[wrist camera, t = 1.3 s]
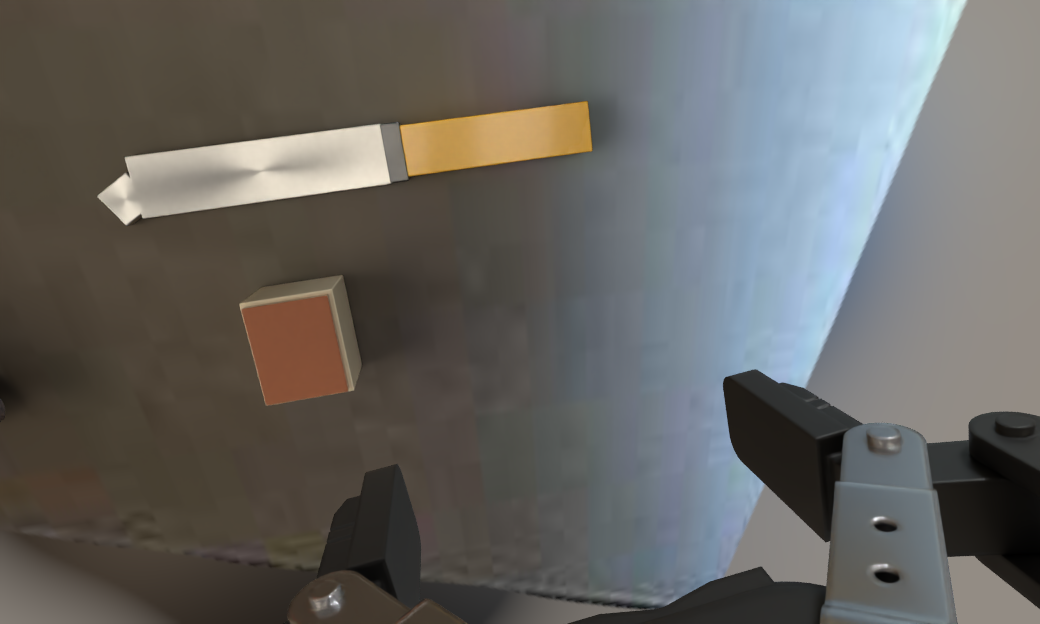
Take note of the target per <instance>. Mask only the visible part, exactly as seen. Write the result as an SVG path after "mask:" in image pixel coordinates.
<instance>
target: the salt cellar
mask: <svg viewBox="0 0 1040 624" xmlns="http://www.w3.org/2000/svg"><path fill="white" fill-rule="evenodd" d="M239 305H240V309H241V313H242V317H243V321H244V324H245V328H246V332H247V336H248V340H249V343H250V347H251V351H252V355H253V359H254V362H255V366H256V370H257V374H258V378H259V381H260V385H261V389H262V393H263V397H264V400H265V404H266V406H268V405H274V404H280V403H285V402H291V401H297V400H303V399H308V398H314V397H320V396H326V395H331V394H337V393H343V392H349V391H353V390H354V389H355V386H356V383H357V380H358V377H359V374H360V371H361V368H362V362H361V358H360V353H359V348H358V343H357V339H356V334H355V329H354V325H353V320H352V315H351V311H350V306H349V301H348V297H347V292H346V287H345V283H344V278H343V275H338V276H331V277H325V278H318V279H312V280H305V281H299V282H292V283H286V284H279V285H273V286H266V287H261V288H260V289H258V290H257V291H256V292H254V293H253V294H252V295H250V296H249V297H248V298H246V299H245V300H244V301H242V302H241V303H240V304H239Z"/></svg>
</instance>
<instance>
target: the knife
mask: <svg viewBox="0 0 1040 624" xmlns="http://www.w3.org/2000/svg"><path fill="white" fill-rule="evenodd" d="M592 150H593V149H592V139H591V128H590V118H589V107H588V101H583V102H576V103H568V104H560V105H553V106H545V107H537V108H530V109H522V110H514V111H507V112H499V113H491V114H484V115H476V116H468V117H460V118H453V119H445V120H437V121H430V122H422V123H414V124H407V125H400V123H399V122H394V123H386V124H372V125H364V126H356V127H348V128H341V129H333V130H325V131H317V132H310V133H302V134H294V135H287V136H279V137H271V138H263V139H256V140H248V141H240V142H232V143H225V144H217V145H209V146H202V147H194V148H186V149H178V150H171V151H163V152H155V153H147V154H140V155H132V156H125V157H124V158H125V161H126V165H127V168H128V171H129V172H125V173H124V174H122V175H121V176H120V177H119V178H118V179H116V180H115V181H114V182H113V183H111V184H110V185H109V186H108V187H107V188H105V189H104V190H103V191H102V192H101V193H99V194H98V195H97V197H98V198H99V199H100V200H101V201H102V202H103V203H104V204H105V205H106V206H107V207H108V208H109V209H110V210H111V211H112V212H113V213H114V214H115V215H116V216H117V217H118V218H119V219H120V220H121V221H122V222H123V223H124V224H125V225H126V226H129V225H133V224H134V223H135V222H137V221H138V220H139V219H140V218H143V219H147V218H154V217H161V216H168V215H175V214H183V213H190V212H197V211H204V210H211V209H218V208H225V207H233V206H240V205H247V204H254V203H261V202H268V201H275V200H283V199H290V198H297V197H304V196H311V195H318V194H325V193H333V192H340V191H347V190H354V189H361V188H368V187H375V186H383V185H390V184H392V183H394V182H401V181H408V180H409V179H410V176H418V175H425V174H432V173H439V172H446V171H454V170H461V169H468V168H475V167H482V166H489V165H497V164H504V163H511V162H518V161H525V160H533V159H540V158H547V157H554V156H561V155H569V154H576V153H583V152H590V151H592Z"/></svg>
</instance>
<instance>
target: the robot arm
mask: <svg viewBox="0 0 1040 624" xmlns="http://www.w3.org/2000/svg"><path fill="white" fill-rule="evenodd" d="M723 390H724V397H725V405H726V412H727V419H728V427H729V434H730V439H731V443H732V446H733V448H734V450H735V452H736V454H737V456H738V458H739V459H740V460H741V461H742V462H743V463H744V464H745V465H746V466H747V467H748V468H749V469H750V470H751V471H752V472H753V473H754V474H755V475H756V476H757V477H758V478H759V479H760V480H761V481H762V482H763V483H765V484H766V485H767V486H768V487H769V488H770V489H771V490H772V491H773V492H774V493H775V494H776V495H777V496H778V497H779V498H780V499H781V500H782V501H783V502H784V503H785V504H786V505H788V507H789V508H791V509H792V510H793V511H794V512H795V513H796V514H797V515H798V516H799V517H800V518H801V519H802V520H803V521H804V522H805V523H806V524H807V525H808V526H809V527H810V528H811V529H812V530H813V531H815V533H817V535H819V536H820V537H821V538H822V539H823V540H824V541H825V542H828V541H830V550H829V562H828V573H827V586H822V585H817V584H811V583H802V582H774V581H773V580H772V579H771V578H770V576H769V575H768V574H767V573H766V571H765V570H764V569H763V568H762V567H758V568H754V569H752V570H748V571H744V572H741V573H738V574H734V575H731V576H728V577H724V578H721V579H717V580H714V581H710V582H708V583H706V584H705V585H703V586H701V587H699V588H697V589H696V590H694V591H692V592H690V593H688V594H687V595H685V596H683V597H681V598H679V599H678V600H676V601H674V602H672V603H670V604H669V605H667V606H665V607H663V608H659V609H653V610H642V611H631V612H620V613H609V614H599V615H595V616H592V617H589V618H585V619H582V620H579V621H575V622H572V623H568V624H958V623H957V617H956V611H955V604H954V598H953V591H952V585H951V578H950V572H949V566H948V559H947V557H954V556H975V557H976V558H977V559H978V560H979V561H980V562H981V563H983V564H984V565H985V566H986V567H988V568H989V569H990V570H991V571H993V572H994V573H995V574H997V575H998V576H999V577H1000V578H1002V579H1003V580H1004V581H1005V582H1007V583H1008V584H1009V585H1010V586H1012V587H1013V588H1014V589H1015V590H1017V591H1018V592H1019V593H1020V594H1022V595H1023V596H1024V597H1026V598H1027V599H1028V600H1029V601H1031V602H1032V603H1033V604H1034V605H1035V606H1037V607H1038V608H1039V609H1040V417H1039V416H1036V415H1031V414H1026V413H1019V412H991V413H986V414H982V415H979V416H977V417H975V418H973V419H972V420H971V421H970V422H969V440H967V441H954V442H942V443H926V440H925V438H924V437H923V436H922V435H921V434H920V433H918V432H917V431H915V430H913V429H911V428H908V427H904V426H901V425H897V424H890V423H869V424H862V423H860V422H859V421H857V420H855V419H854V418H852V417H850V416H849V415H847V414H846V413H844V412H842V411H841V410H839V409H837V408H836V407H834V406H830V404H829V403H827V402H826V401H824V400H822V399H819V398H818V397H817V396H816V395H814V394H812V393H811V392H809V391H808V390H806V389H804V388H801V387H798V386H794V385H790V384H786V383H777V382H776V381H774V380H772V379H771V378H769V377H768V376H766V375H765V374H763V373H761V372H760V371H758V370H751V371H747V372H743V373H739V374H736V375H732V376H728V377H726V378H725V379H724V381H723ZM330 531H331V532H329V535H328V539H327V544H326V546H325V550H324V553H323V557H322V560H321V564H320V568H319V571H318V575H317V578H316V580H314V581H312V582H311V583H309V584H308V585H307V586H305V587H304V588H303V589H302V590H301V591H300V592H299V593H298V594H297V595H296V596H295V597H294V599H293V600H292V601H291V603H290V605H289V608H288V611H287V616H288V621H286V622H285V623H283V624H468V623H466V622H465V621H463V620H461V619H460V618H458V617H457V616H455V615H454V614H452V613H451V612H449V611H448V610H446V609H445V608H443V607H441V606H440V605H438V604H437V603H435V602H434V601H432V600H430V599H422V600H421V601H419V600H420V567H421V543H420V535H419V530H418V526H417V522H416V518H415V515H414V512H413V509H412V505H411V502H410V499H409V495H408V492H407V489H406V486H405V482H404V479H403V476H402V473H401V470H400V468H399V466H398V464H395V465H391V466H388V467H384V468H380V469H376V470H373V471H369V472H366V473H365V476H364V481H363V486H362V490H361V495H360V496H357V497H353V498H350V499H347V500H346V501H345V502H344V503H343V505H342V506H341V507H340V508H339V509H338V511H337V512H336V513H335V514H334V517H333V521H332V524H331V528H330Z"/></svg>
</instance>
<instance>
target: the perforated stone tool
mask: <svg viewBox="0 0 1040 624" xmlns="http://www.w3.org/2000/svg"><path fill="white" fill-rule="evenodd" d="M4 418H5V406H4V404H3V401H2V400H1V399H0V422H1V420H3V419H4Z"/></svg>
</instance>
